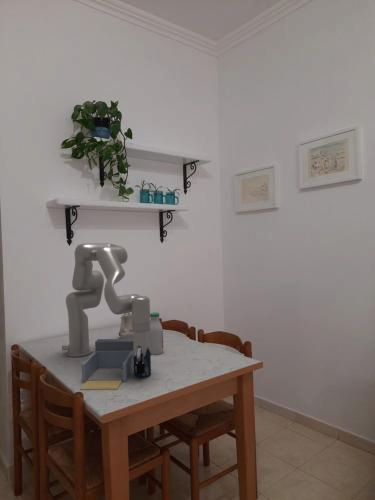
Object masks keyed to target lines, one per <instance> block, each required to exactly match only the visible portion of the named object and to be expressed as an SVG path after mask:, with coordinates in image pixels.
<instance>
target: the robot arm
mask: <svg viewBox="0 0 375 500" xmlns="http://www.w3.org/2000/svg"><path fill="white" fill-rule="evenodd" d="M128 256H129V255H128V252H127V249H125V247H123V246H122V245H118V244H114V243H109V242H100V243H99V242H97V243H96V242H93V243H92V242H91V243H90V242H89V243H80V244H78V245H77V246H76V247H75V249H74V268H73V273H72V274H73V275H72V281H71V285H72V286H71V287H72V289H74V291H73V292H70V293H68V294H67V296H66V297H65V306H66V310H67V317H68V319H67V321H68V340H69V342H68V343H69V344H68V345H67V344H66V345H64V344H63V345H62V346H61V350H62V351H66V356H67V357H71V358H79V357H80V358H81V357H86V356H90V355H92V354H93V349H92V348H90V339H89V338H90V336H89V335H90V334H89V332H90V331H89V318H88V315H87V314H86V312H85V311H84V310H88V309H95V308H97V307H99V305H100V303H101V300H102V295H104V299H105V302H106V304H107V307H108V309H109V310H110V311H111V313H112V314H114V315H117V316H119V315H124V313H130V314H132V331H133V332H134V339H133V356H134V357H135V356H136V355H137V364H136V365H137V374H144V373H145V363H144V356H145V355H146V351H147V349H148V347H149V342H148V331H150V330H151V329H150V320H151V318H150V313H151V302H150V301H151V300H150V297H148V296H146V295H145V296H144V295H139V294H137V293H130V294H124V295H117V292H116V291H115V287H114V285H115V284H118V283H119V282H120V281H122V280H123V278H124V277H125V276H126V271H125V270H124V267H123V265H122V264H125V263H126V262H127V261H128ZM96 261H97V262H98V264H99V266H100V268H101V270H102V272H103V273H102V272H101V271H99V270H93V266H94V265H93V262H96ZM103 274H104V275H103ZM104 277H105V278H104ZM105 279H106V281H105ZM103 289H104V290H103ZM103 291H104V293H103ZM141 349H142V350H141ZM141 354H143V356H141ZM141 357H142V358H141Z"/></svg>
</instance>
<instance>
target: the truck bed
mask: <svg viewBox="0 0 375 500" xmlns="http://www.w3.org/2000/svg"><path fill="white" fill-rule="evenodd" d="M103 368H104V369H106V368H107V369H115V368H117V369H118V368H119V369H121V368H122V380H123V381H122V382H123V383H126V382H127V381H128V380H129V378H130V376H131V374H132V372H134V356H133V339H120V338H101V339H100V338H98V339H96V340H95V342H94V351H93V352H92V353H91V354H90V355H89V357H87V359H86V360H85V361H83V363H81V374H82V375H81V380H82V381H81V382H82V383H85V382H86V381H87V380H90V378H91V376H92V375H94V373H95V372H96V371H97V370H98V369H103Z"/></svg>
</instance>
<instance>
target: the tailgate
mask: <svg viewBox="0 0 375 500" xmlns="http://www.w3.org/2000/svg"><path fill="white" fill-rule="evenodd" d="M122 382H123V379H88V380H87V381H86V382H83V384H82V386H81V387H80V388H79V391H105V390H106V391H117V390H119V388H120V386H121V384H122Z"/></svg>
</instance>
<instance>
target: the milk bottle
mask: <svg viewBox="0 0 375 500" xmlns="http://www.w3.org/2000/svg"><path fill="white" fill-rule="evenodd" d="M150 329H151V330H150V331H148V342H149V350H150V355H154V356H155V355H162V354H164V333H163V332H164V331H163V330H164V329H163V326H162V323H161V321H160V313H159V312H157V311H156V312H150Z"/></svg>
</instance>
